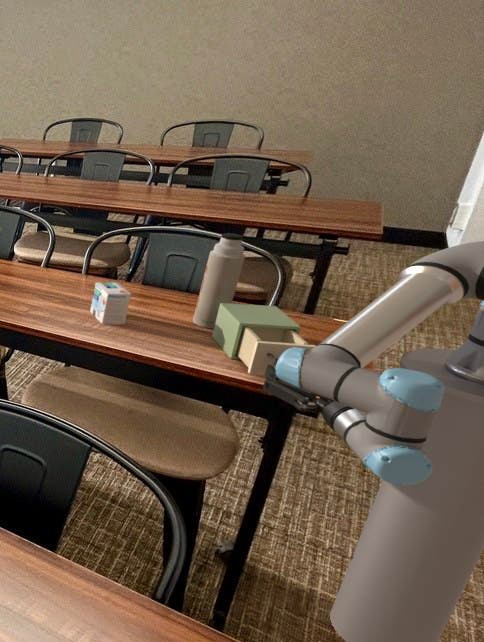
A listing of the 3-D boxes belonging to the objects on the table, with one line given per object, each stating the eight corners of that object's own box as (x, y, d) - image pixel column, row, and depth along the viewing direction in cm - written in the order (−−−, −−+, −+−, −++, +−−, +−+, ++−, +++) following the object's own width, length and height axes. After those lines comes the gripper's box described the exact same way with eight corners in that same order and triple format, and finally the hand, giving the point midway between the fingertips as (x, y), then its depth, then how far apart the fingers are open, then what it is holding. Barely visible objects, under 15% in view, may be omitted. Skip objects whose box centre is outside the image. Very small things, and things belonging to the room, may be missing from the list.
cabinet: (290, 364, 149) (301, 327, 146) (230, 359, 154) (239, 322, 150) (266, 340, 162) (276, 306, 158) (212, 336, 167) (220, 302, 163)
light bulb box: (89, 312, 188) (94, 281, 184) (111, 312, 187) (118, 281, 183) (101, 325, 178) (107, 293, 174) (125, 326, 177) (132, 293, 173)
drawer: (317, 389, 136) (328, 356, 133) (257, 383, 140) (266, 351, 137) (282, 355, 152) (291, 325, 149) (229, 351, 156) (237, 321, 153)
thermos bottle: (187, 322, 176) (209, 234, 166) (199, 316, 180) (222, 229, 169) (218, 331, 169) (243, 240, 159) (230, 324, 173) (255, 235, 163)
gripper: (272, 430, 119) (234, 381, 137) (436, 449, 110) (372, 394, 128) (281, 398, 116) (241, 353, 134) (450, 416, 107) (383, 364, 125)
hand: (305, 373), depth 131 cm, fingers open, 13 cm apart
